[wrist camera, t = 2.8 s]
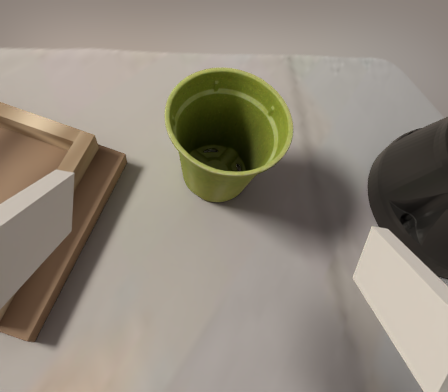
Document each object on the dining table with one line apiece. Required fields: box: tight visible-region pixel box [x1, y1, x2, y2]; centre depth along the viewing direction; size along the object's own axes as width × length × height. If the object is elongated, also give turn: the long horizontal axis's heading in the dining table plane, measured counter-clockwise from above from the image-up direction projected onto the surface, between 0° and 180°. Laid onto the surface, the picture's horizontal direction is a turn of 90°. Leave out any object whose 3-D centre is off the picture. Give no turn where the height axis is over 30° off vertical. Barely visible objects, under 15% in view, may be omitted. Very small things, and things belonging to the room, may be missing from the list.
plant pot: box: [165, 68, 293, 202], centre depth 29 cm, size 9×9×9 cm
